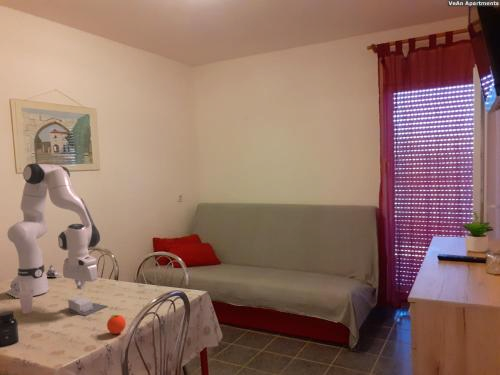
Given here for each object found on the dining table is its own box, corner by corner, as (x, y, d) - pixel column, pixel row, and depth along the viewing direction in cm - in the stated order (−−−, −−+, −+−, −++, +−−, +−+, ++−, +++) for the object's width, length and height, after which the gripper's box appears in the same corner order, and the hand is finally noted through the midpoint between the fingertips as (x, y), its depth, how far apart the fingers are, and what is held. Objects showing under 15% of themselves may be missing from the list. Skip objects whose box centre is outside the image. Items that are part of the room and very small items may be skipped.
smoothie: (38, 310, 181) (36, 280, 180) (26, 315, 175) (24, 285, 174) (28, 309, 183) (25, 280, 182) (15, 314, 177) (13, 284, 176)
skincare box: (80, 295, 186) (92, 299, 178) (80, 304, 186) (93, 309, 178) (67, 299, 181) (79, 303, 173) (68, 308, 181) (80, 313, 173)
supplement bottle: (-6, 350, 142) (-8, 317, 141) (1, 342, 148) (-2, 311, 148) (15, 346, 144) (13, 315, 143) (21, 339, 150) (18, 308, 150)
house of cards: (66, 273, 246) (65, 261, 245) (57, 278, 237) (56, 265, 237) (53, 273, 247) (52, 262, 247) (44, 277, 239) (43, 265, 238)
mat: (66, 311, 178) (66, 310, 178) (89, 303, 188) (88, 302, 188) (85, 316, 171) (85, 315, 171) (107, 306, 182) (107, 305, 182)
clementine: (103, 332, 153) (102, 315, 152) (120, 327, 158) (118, 309, 157) (112, 338, 147) (111, 320, 147) (129, 332, 152) (128, 314, 152)
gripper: (58, 259, 182) (60, 288, 183) (87, 262, 172) (89, 293, 173) (70, 256, 188) (72, 284, 189) (99, 259, 178) (101, 289, 179)
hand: (80, 288), depth 181 cm, fingers closed
